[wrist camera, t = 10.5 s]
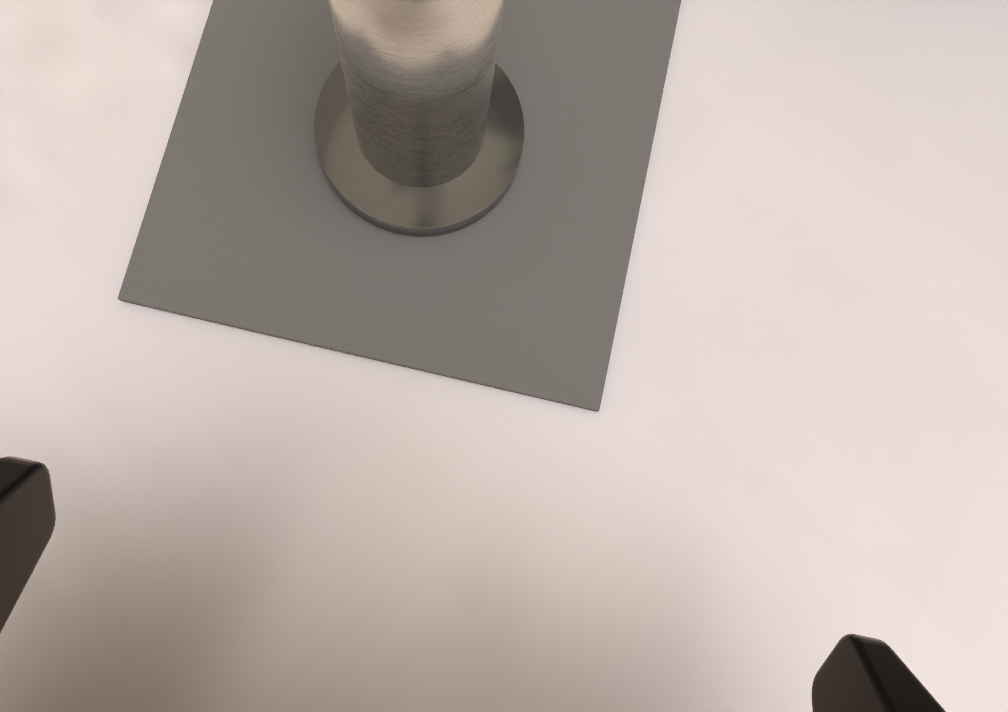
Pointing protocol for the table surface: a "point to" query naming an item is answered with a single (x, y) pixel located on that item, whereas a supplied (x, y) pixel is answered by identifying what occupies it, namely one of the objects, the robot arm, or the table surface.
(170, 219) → the mat
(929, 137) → the table surface
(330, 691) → the table surface
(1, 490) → the robot arm
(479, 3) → the flanged metal post
